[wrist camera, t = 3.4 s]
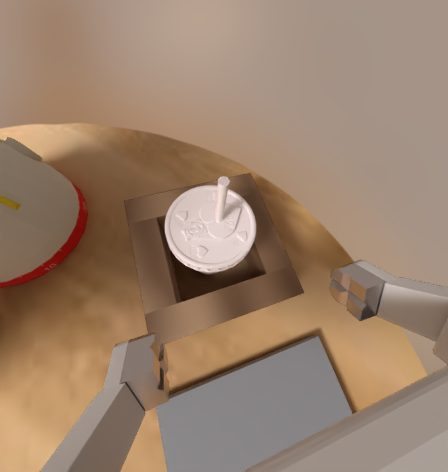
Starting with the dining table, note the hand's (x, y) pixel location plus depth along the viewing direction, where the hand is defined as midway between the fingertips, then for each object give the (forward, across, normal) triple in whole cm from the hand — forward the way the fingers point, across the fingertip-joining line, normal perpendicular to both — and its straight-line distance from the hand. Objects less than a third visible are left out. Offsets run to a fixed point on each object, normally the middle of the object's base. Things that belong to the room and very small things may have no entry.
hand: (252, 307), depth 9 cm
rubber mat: (+1, 0, +17) cm, 17 cm away
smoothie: (+13, 0, +5) cm, 14 cm away
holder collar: (+13, 0, +5) cm, 14 cm away
